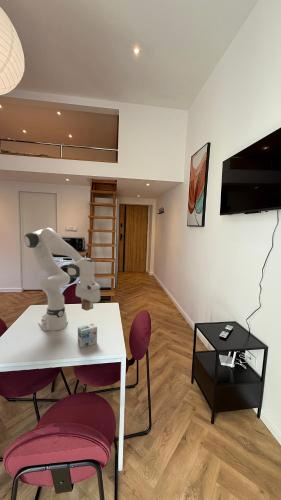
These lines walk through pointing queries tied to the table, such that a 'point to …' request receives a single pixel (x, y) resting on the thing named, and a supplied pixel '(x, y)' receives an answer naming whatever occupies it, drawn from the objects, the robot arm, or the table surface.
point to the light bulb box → (87, 335)
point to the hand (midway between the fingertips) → (87, 306)
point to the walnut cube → (86, 305)
